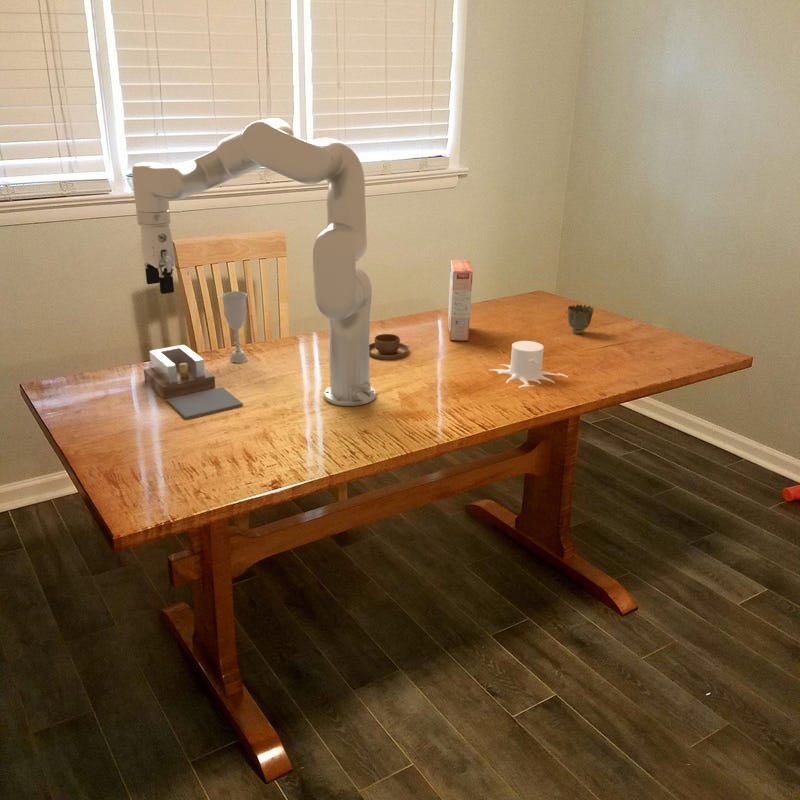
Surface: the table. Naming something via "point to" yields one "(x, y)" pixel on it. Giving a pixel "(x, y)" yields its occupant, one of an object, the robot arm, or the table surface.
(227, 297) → the chalice
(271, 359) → the table surface
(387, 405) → the table surface
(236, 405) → the mat
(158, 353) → the c link
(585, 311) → the cup
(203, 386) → the stand
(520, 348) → the tree stump
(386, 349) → the place setting
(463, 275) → the cracker box
